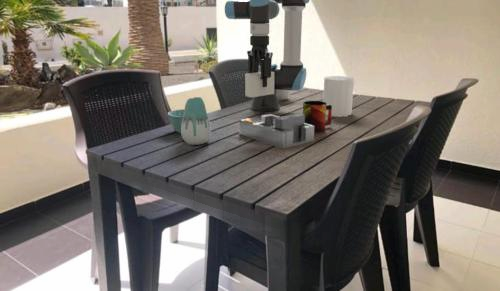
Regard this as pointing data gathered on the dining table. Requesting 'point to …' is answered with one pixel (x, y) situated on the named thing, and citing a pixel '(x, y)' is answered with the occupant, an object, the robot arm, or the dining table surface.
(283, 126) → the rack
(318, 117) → the mug
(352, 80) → the container
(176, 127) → the bowl
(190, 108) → the vase
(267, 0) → the robot arm
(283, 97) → the planter
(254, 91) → the block
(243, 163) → the dining table surface
